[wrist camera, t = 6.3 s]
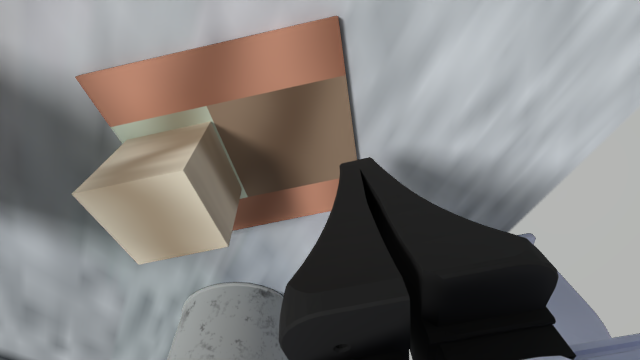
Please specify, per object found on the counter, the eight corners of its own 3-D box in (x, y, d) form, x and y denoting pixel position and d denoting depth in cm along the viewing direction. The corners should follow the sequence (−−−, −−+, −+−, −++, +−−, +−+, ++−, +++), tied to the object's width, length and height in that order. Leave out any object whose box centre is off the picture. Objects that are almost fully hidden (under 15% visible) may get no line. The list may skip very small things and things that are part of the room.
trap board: (337, 15, 12) (338, 16, 12) (361, 201, 19) (362, 204, 18) (79, 75, 13) (75, 77, 12) (190, 235, 19) (189, 239, 19)
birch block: (210, 121, 14) (182, 170, 11) (242, 188, 17) (228, 246, 13) (127, 139, 14) (71, 193, 11) (170, 203, 17) (138, 264, 13)
